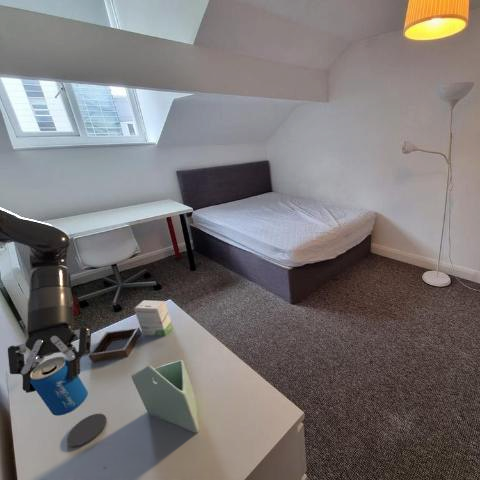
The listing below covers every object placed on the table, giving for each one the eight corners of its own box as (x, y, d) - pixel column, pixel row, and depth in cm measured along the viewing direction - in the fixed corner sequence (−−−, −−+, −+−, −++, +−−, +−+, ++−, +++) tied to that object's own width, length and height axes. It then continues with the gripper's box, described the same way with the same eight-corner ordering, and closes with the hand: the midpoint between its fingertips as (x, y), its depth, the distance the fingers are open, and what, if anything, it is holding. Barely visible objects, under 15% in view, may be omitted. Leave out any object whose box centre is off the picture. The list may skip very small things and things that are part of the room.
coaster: (60, 450, 62) (59, 449, 62) (80, 418, 69) (79, 416, 69) (96, 443, 63) (95, 441, 63) (112, 412, 70) (111, 410, 70)
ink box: (142, 335, 96) (132, 309, 91) (152, 325, 100) (142, 299, 95) (165, 336, 95) (156, 309, 90) (174, 325, 100) (165, 300, 95)
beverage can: (56, 423, 58) (30, 386, 53) (50, 406, 62) (24, 370, 57) (92, 400, 63) (71, 364, 58) (84, 386, 67) (63, 350, 62)
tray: (91, 362, 85) (88, 355, 84) (109, 338, 95) (106, 331, 94) (128, 356, 87) (125, 349, 86) (141, 333, 97) (139, 327, 95)
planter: (218, 403, 71) (202, 348, 63) (197, 434, 65) (176, 376, 56) (171, 386, 77) (151, 333, 68) (147, 413, 70) (121, 357, 62)
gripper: (-3, 316, 57) (-7, 402, 52) (80, 297, 62) (85, 373, 57) (22, 321, 63) (21, 396, 58) (96, 303, 68) (101, 371, 64)
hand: (52, 384), depth 58 cm, fingers closed on beverage can, 6 cm apart
